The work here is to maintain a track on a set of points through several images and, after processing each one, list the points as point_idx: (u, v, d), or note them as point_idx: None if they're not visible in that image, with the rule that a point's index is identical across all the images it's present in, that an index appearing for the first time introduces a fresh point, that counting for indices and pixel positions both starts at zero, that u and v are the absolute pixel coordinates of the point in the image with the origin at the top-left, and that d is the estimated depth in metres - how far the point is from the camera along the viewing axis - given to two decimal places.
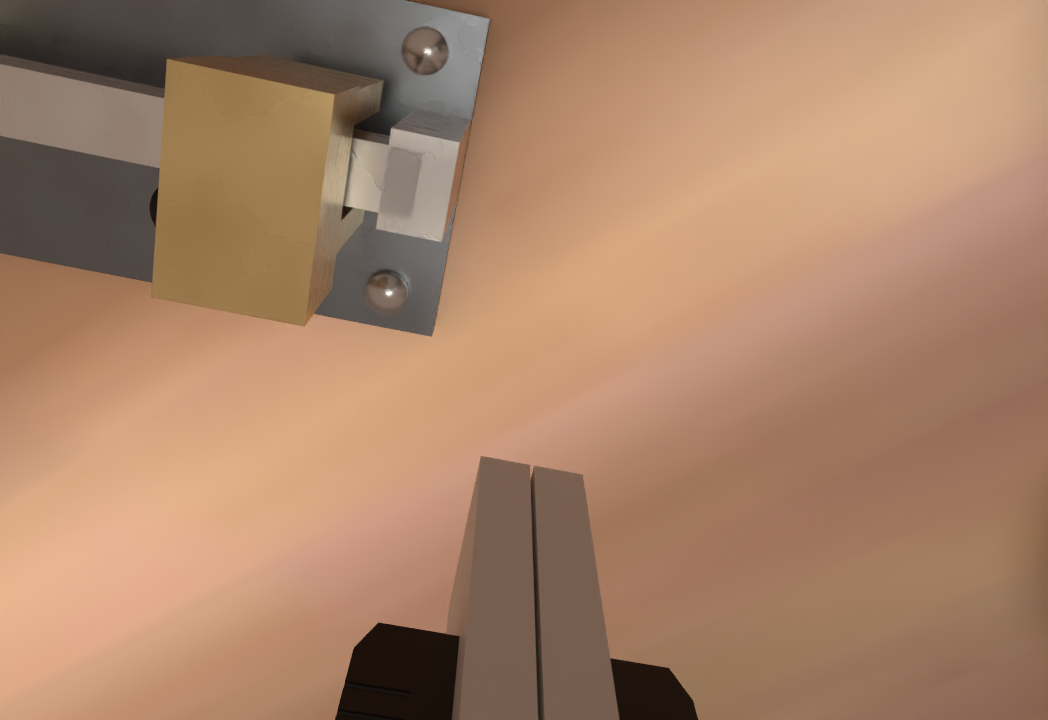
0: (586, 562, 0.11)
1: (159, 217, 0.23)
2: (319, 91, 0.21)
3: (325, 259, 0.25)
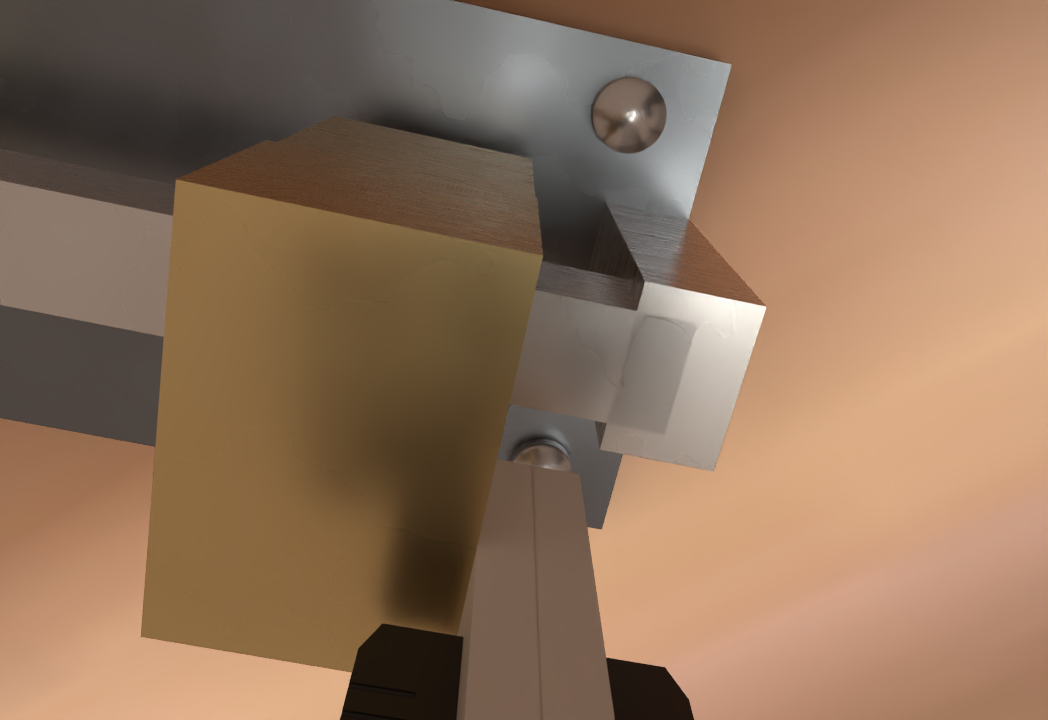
0: (583, 561, 0.11)
1: (155, 490, 0.11)
2: (508, 247, 0.10)
3: None
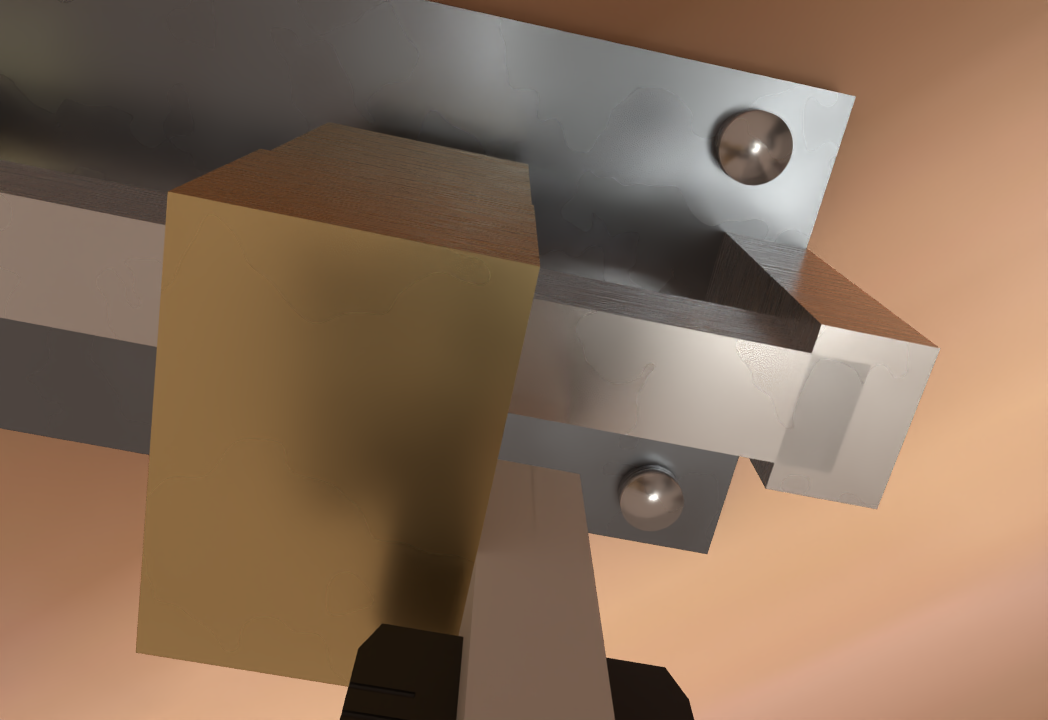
0: (583, 561, 0.11)
1: (150, 504, 0.11)
2: (505, 258, 0.10)
3: None
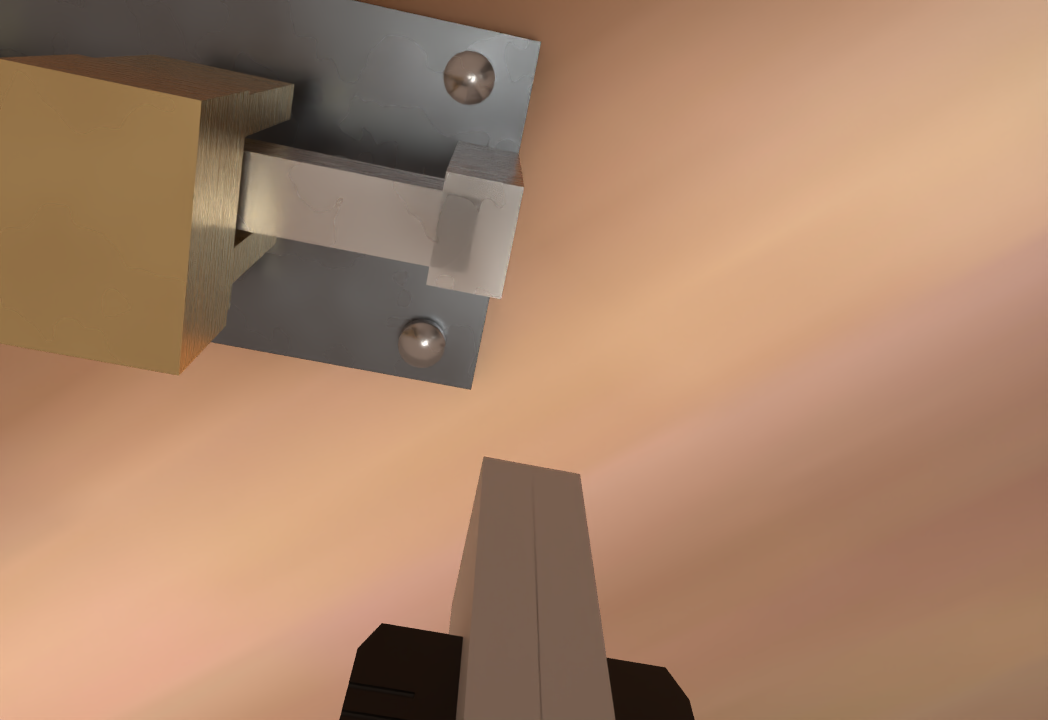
0: (583, 561, 0.11)
1: None
2: (183, 97, 0.18)
3: (209, 294, 0.21)
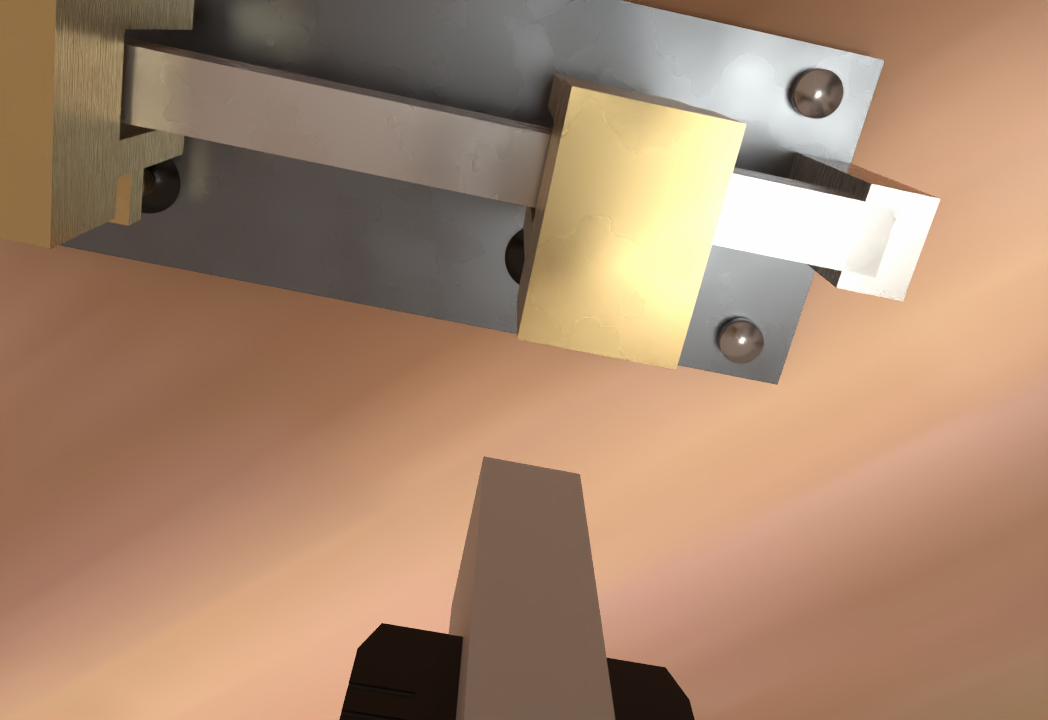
0: (583, 562, 0.11)
1: (534, 254, 0.21)
2: (728, 120, 0.20)
3: None
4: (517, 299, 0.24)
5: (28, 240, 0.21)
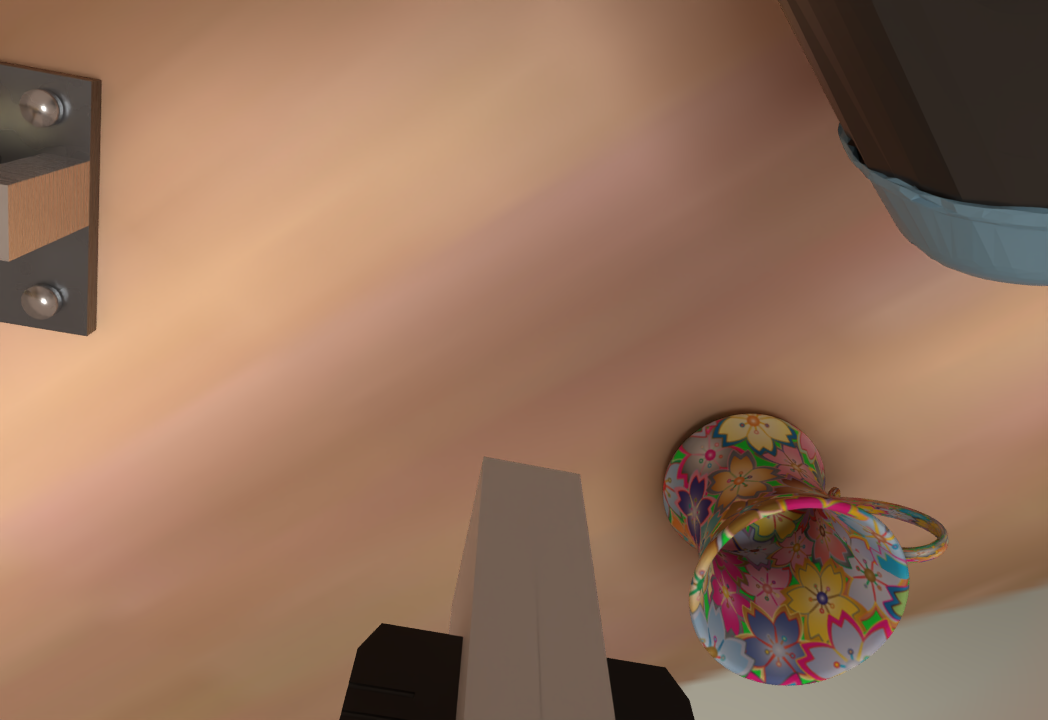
0: (583, 561, 0.11)
1: None
2: None
3: None
4: None
5: None
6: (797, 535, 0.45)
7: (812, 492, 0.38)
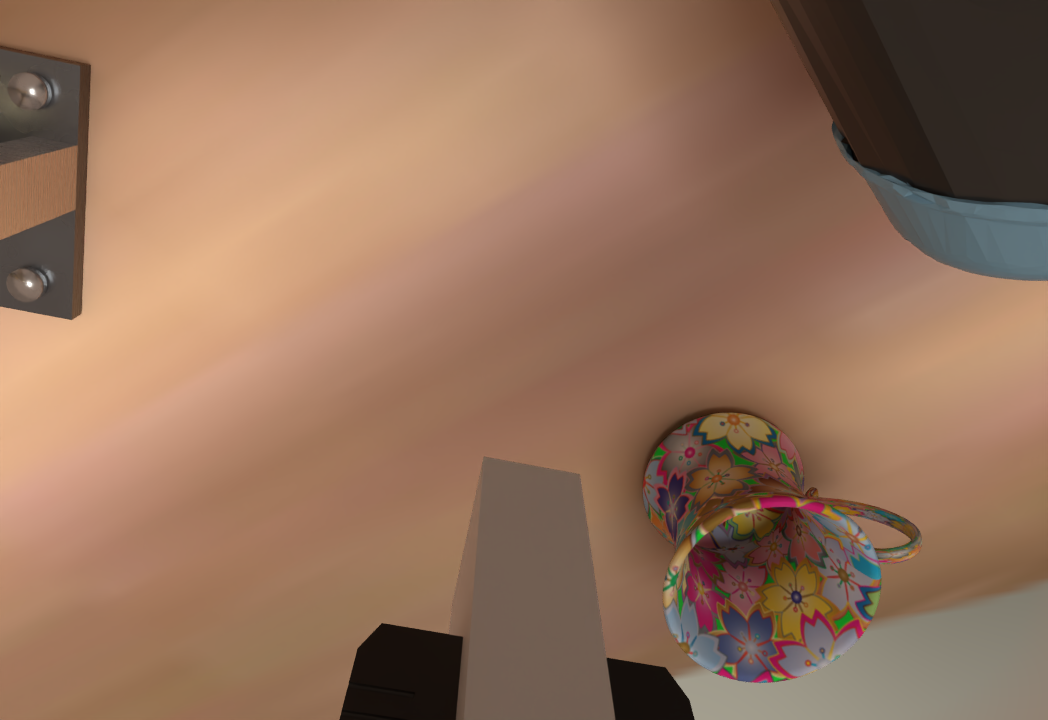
0: (583, 561, 0.11)
1: None
2: None
3: None
4: None
5: None
6: (774, 534, 0.46)
7: (787, 491, 0.38)
